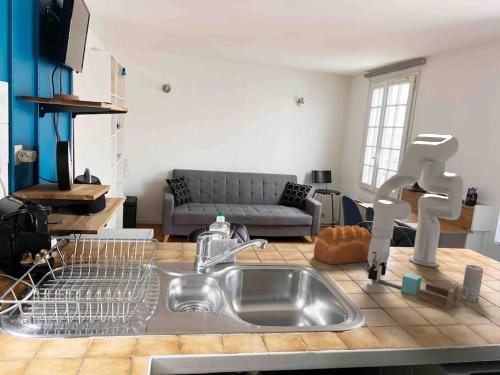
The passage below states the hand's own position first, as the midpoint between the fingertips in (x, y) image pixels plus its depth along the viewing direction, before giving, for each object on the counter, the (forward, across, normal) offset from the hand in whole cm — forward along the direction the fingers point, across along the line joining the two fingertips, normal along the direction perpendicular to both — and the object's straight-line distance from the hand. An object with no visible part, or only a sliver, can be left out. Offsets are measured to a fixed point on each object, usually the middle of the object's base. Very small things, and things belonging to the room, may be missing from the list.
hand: (376, 276), depth 145 cm
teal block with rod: (+2, 0, +7) cm, 7 cm away
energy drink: (+2, -11, +30) cm, 32 cm away
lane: (+2, 0, +22) cm, 22 cm away
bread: (+2, -14, -21) cm, 26 cm away
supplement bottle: (+2, -15, -7) cm, 17 cm away
